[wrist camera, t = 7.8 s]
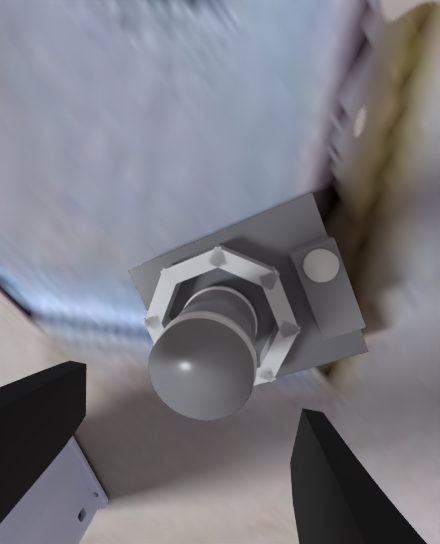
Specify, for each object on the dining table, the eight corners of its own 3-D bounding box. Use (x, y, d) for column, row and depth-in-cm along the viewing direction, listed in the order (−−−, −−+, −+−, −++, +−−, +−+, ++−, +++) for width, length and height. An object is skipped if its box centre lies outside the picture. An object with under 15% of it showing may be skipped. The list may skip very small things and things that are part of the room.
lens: (265, 293, 16) (269, 338, 10) (247, 360, 17) (241, 435, 11) (192, 275, 16) (155, 307, 10) (179, 341, 17) (139, 404, 11)
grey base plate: (356, 336, 17) (388, 375, 13) (196, 383, 20) (180, 429, 16) (305, 195, 16) (322, 186, 12) (141, 264, 19) (106, 278, 14)
